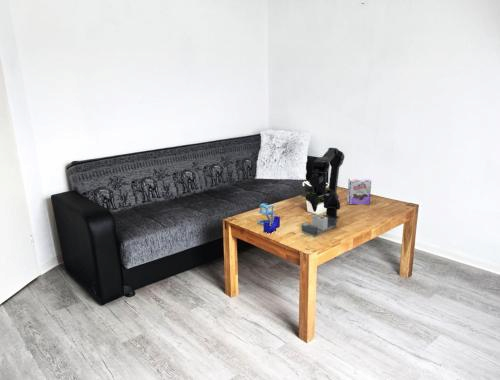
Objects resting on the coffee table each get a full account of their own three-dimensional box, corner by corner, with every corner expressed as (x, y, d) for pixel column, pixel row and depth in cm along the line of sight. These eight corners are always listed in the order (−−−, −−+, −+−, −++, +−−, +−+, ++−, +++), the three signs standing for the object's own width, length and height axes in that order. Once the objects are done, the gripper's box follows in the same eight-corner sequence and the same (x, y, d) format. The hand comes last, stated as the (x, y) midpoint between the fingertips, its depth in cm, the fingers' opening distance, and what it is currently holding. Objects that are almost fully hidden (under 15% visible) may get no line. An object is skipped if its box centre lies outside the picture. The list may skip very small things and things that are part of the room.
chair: (276, 222, 237) (276, 203, 234) (266, 226, 231) (266, 206, 228) (267, 219, 242) (267, 200, 239) (256, 223, 237) (256, 203, 234)
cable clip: (270, 234, 221) (270, 223, 220) (263, 232, 224) (263, 222, 222) (282, 227, 230) (282, 217, 229) (275, 225, 233) (275, 215, 231)
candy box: (348, 205, 265) (349, 180, 260) (346, 202, 271) (348, 178, 266) (369, 204, 265) (371, 180, 260) (367, 202, 270) (369, 178, 266)
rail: (323, 222, 236) (323, 214, 234) (336, 226, 229) (336, 218, 228) (301, 232, 222) (301, 223, 221) (314, 236, 216) (314, 227, 215)
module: (315, 224, 230) (316, 214, 228) (327, 228, 224) (327, 217, 222) (311, 226, 227) (311, 216, 225) (322, 230, 221) (323, 219, 220)
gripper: (319, 176, 230) (318, 202, 234) (298, 182, 217) (297, 210, 222) (335, 179, 222) (334, 206, 226) (314, 186, 210) (313, 215, 214)
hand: (319, 209), depth 222 cm, fingers open, 9 cm apart
